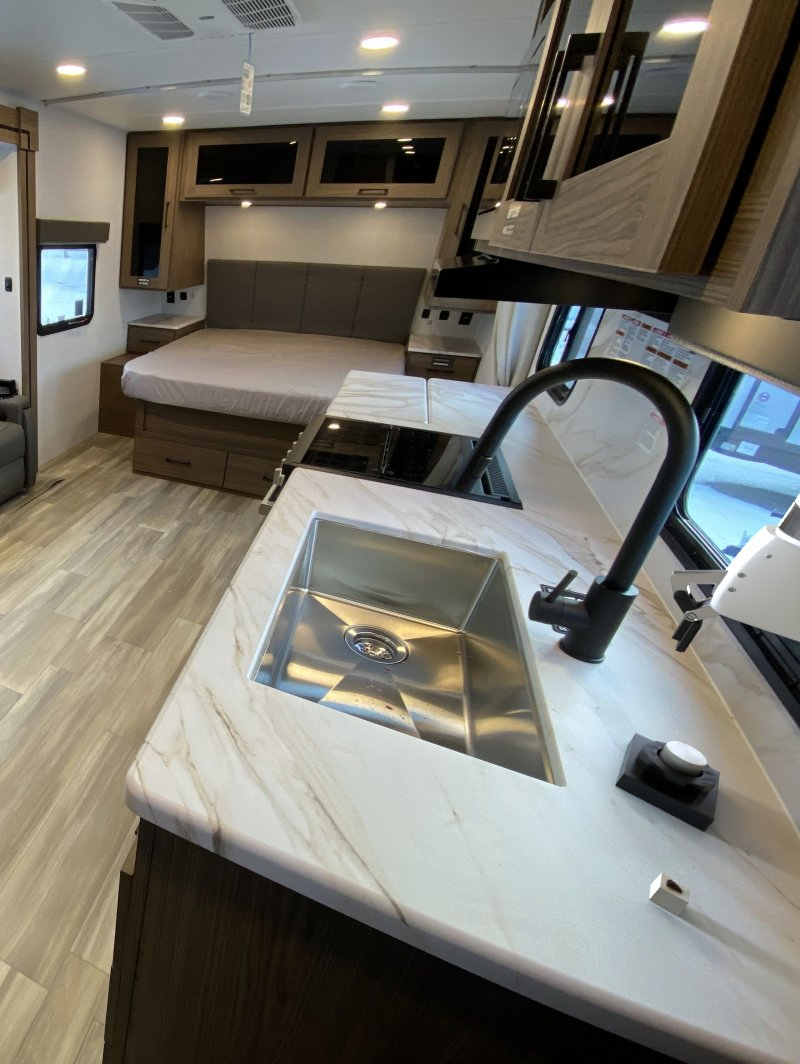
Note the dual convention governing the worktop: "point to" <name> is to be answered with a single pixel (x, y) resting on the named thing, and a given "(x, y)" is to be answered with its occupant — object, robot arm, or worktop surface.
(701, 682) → the worktop surface
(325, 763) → the worktop surface
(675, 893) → the cube with dark pebbles
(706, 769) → the block
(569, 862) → the worktop surface
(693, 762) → the knob
